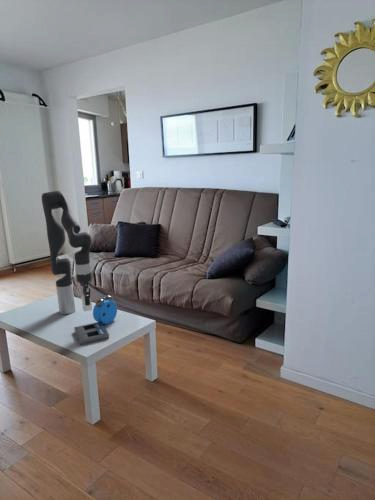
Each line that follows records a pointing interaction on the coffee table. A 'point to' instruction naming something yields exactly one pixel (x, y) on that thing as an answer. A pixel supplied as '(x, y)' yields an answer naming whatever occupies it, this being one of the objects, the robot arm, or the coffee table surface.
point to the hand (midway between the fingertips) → (86, 303)
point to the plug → (85, 308)
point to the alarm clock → (105, 310)
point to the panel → (91, 333)
